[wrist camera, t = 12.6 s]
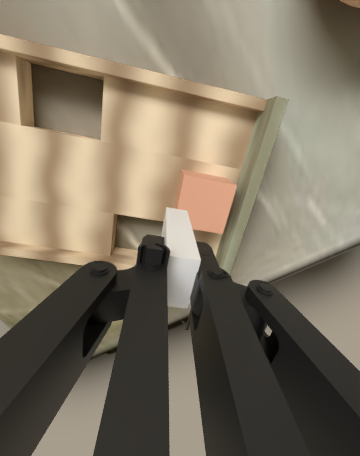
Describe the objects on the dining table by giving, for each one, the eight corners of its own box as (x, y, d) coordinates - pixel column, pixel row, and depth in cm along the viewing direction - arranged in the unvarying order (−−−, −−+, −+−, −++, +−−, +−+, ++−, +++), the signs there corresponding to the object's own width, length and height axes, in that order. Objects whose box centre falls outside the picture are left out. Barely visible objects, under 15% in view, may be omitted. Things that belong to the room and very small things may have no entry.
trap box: (-6, 236, 30) (-46, 259, 24) (-36, 35, 21) (-107, 0, 16) (214, 266, 33) (223, 292, 28) (262, 107, 25) (289, 99, 20)
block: (172, 213, 27) (173, 226, 23) (181, 169, 25) (184, 175, 21) (215, 221, 28) (222, 234, 24) (227, 178, 26) (237, 185, 22)
